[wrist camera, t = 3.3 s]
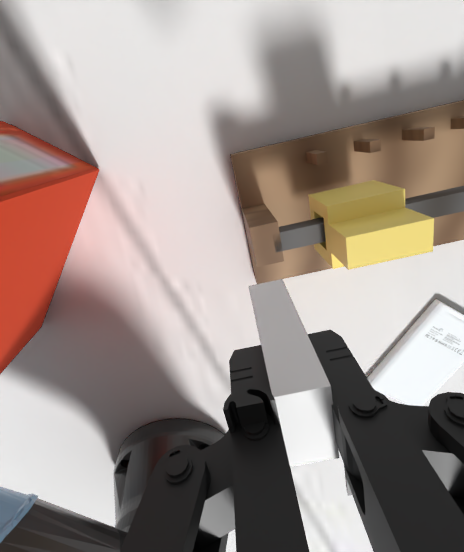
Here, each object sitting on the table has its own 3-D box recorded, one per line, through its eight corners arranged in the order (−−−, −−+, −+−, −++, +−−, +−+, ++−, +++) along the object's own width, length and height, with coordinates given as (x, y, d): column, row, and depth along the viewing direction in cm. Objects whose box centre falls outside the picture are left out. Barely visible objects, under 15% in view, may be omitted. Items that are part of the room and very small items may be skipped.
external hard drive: (361, 378, 39) (432, 295, 35) (412, 401, 41) (484, 325, 37) (367, 387, 38) (442, 303, 34) (420, 411, 40) (496, 333, 36)
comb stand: (255, 279, 33) (270, 328, 24) (230, 154, 28) (237, 162, 20) (507, 224, 32) (611, 255, 23) (525, 85, 27) (663, 63, 19)
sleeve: (314, 248, 26) (349, 287, 20) (308, 194, 25) (344, 217, 18) (375, 235, 26) (432, 269, 20) (373, 180, 25) (434, 197, 18)
